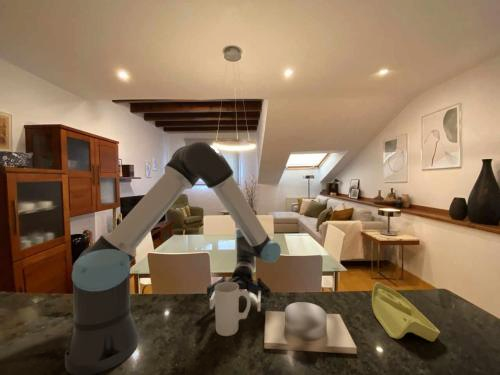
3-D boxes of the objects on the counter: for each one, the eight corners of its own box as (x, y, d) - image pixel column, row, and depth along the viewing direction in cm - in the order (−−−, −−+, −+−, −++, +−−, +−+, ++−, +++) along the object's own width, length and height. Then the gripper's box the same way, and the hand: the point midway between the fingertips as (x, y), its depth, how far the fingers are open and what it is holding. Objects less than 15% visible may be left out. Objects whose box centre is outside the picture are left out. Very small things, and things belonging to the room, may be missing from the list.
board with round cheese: (264, 348, 57) (264, 326, 57) (265, 315, 71) (265, 298, 71) (356, 353, 55) (356, 331, 55) (339, 319, 69) (339, 301, 69)
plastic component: (444, 335, 58) (408, 318, 59) (429, 359, 59) (394, 342, 60) (399, 292, 78) (372, 279, 78) (388, 310, 79) (362, 297, 79)
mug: (214, 337, 61) (213, 293, 61) (215, 322, 68) (215, 282, 68) (251, 335, 62) (251, 291, 62) (249, 320, 69) (249, 280, 69)
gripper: (276, 286, 86) (279, 320, 64) (210, 284, 88) (191, 316, 66) (276, 266, 85) (279, 294, 64) (210, 264, 87) (191, 290, 66)
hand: (234, 305), depth 65 cm, fingers open, 13 cm apart
